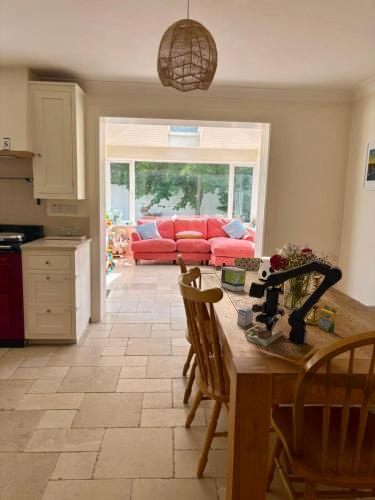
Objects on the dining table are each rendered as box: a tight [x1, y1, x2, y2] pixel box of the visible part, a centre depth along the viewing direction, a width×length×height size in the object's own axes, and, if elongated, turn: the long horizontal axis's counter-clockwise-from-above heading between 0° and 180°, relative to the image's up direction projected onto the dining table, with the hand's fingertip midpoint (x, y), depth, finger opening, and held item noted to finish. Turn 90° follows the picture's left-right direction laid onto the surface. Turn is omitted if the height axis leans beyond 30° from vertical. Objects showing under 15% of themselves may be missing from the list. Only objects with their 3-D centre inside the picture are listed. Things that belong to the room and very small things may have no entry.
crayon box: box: [318, 305, 337, 333], centre depth 177 cm, size 7×3×12 cm, turn 29°
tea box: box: [220, 266, 247, 292], centre depth 250 cm, size 15×10×15 cm, turn 34°
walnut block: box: [258, 328, 273, 340], centre depth 159 cm, size 4×5×3 cm
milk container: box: [257, 256, 275, 281], centre depth 286 cm, size 17×17×18 cm
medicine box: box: [236, 305, 254, 327], centre depth 176 cm, size 8×4×9 cm, turn 141°
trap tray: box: [244, 324, 284, 347], centre depth 160 cm, size 12×19×3 cm, turn 143°
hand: (268, 333), depth 162 cm, fingers closed
